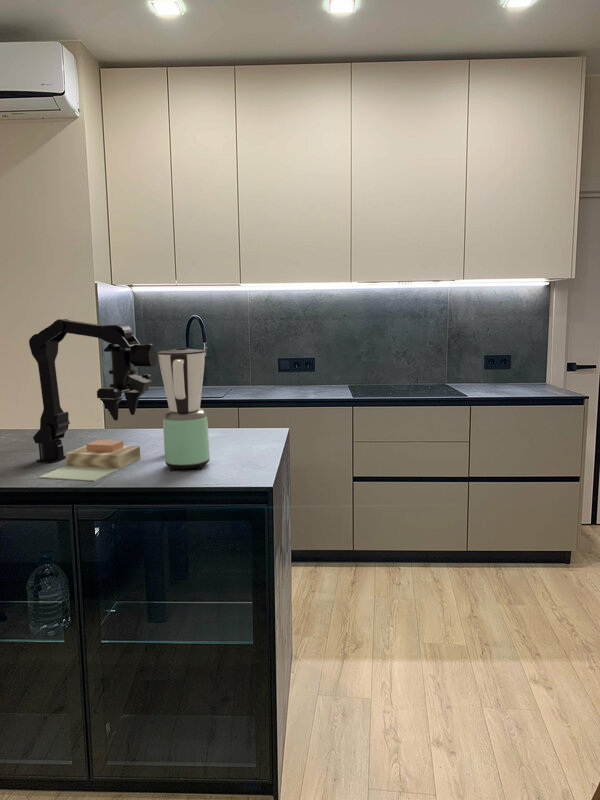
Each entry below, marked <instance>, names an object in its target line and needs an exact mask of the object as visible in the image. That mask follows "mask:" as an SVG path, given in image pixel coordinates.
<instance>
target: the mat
mask: <svg viewBox="0 0 600 800" xmlns="http://www.w3.org/2000/svg"><path fill="white" fill-rule="evenodd" d="M118 470H120V469H118V468H100V467H81V466H67V465H64V466H61V467H59V468H57V469H56V468H55V470H52V471H50V472H47V473H44V474H41V475H40V476H38V478H39V479H53V480H54V479H55V480H65V481H66V480H68V481H70V480H71V481H85V482H96V481H98V480H100V479H102V478H104V477H106V476H109V475H111V474H112V473H115V472H116V471H118Z"/></svg>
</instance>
